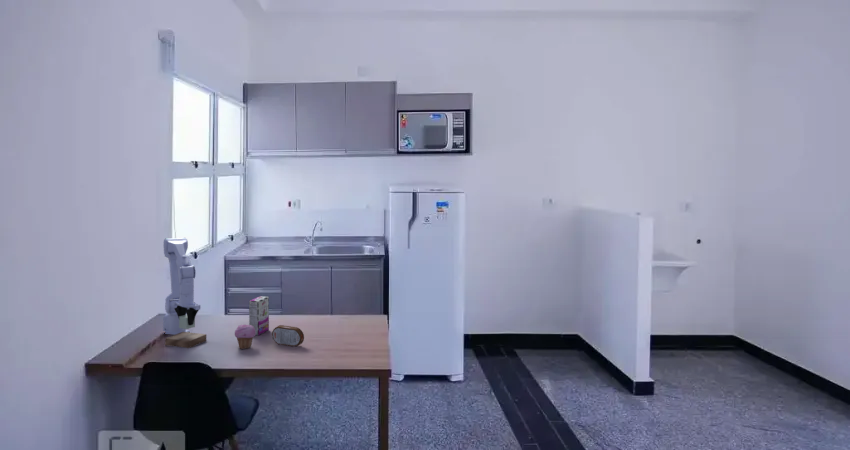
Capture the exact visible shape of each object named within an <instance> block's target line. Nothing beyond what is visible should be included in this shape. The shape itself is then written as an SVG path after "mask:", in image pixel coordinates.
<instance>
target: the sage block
mask: <svg viewBox="0 0 850 450" xmlns="http://www.w3.org/2000/svg"><path fill="white" fill-rule="evenodd" d="M195 319H196V318H195ZM195 319H194V323H193V325H188V317H187V314H186V315H183V316H179V328H183V329H186V330H189V329H192V328H195V327H196V320H195Z"/></svg>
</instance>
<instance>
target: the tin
mask: <svg viewBox="0 0 850 450" xmlns="http://www.w3.org/2000/svg"><path fill="white" fill-rule="evenodd" d="M271 337H272V340H273V342H274V343H275V344H277V345H280V344H281V346H287V345H288V346H287V347H293V346H296V347H298V346H300V345H302V344H303V343H304V341H305V334H304V332H303V331H302V329H301V328H299V327H297V326H290V325H285V324H280V325H277V326H276V327H275V328H273V329H272V332H271Z"/></svg>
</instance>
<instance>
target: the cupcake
mask: <svg viewBox="0 0 850 450" xmlns="http://www.w3.org/2000/svg"><path fill="white" fill-rule="evenodd" d="M255 334H256V333H255V329H254V327H253V326H251V325H249V324H240V325H238V326H237V328H236V329H235V330H234V336H235V338H236V339H237V343H238V344H237V345H238V348H239V349H241V350H245V349H250V348H251V347H252V343H253V339H254V338H255Z"/></svg>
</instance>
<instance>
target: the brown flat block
mask: <svg viewBox="0 0 850 450" xmlns="http://www.w3.org/2000/svg"><path fill="white" fill-rule="evenodd" d="M205 342H207V333H199V332H191V331H189V332H181V333H178V334H175V335H173V334H172V335H171V336H168V337H165V338H164V344H165V346H168V347H169V346H170V347H177V348H178V347H179V348H187V349H191V348H193V347H195V346H198V345H200V344H202V343H205Z"/></svg>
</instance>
